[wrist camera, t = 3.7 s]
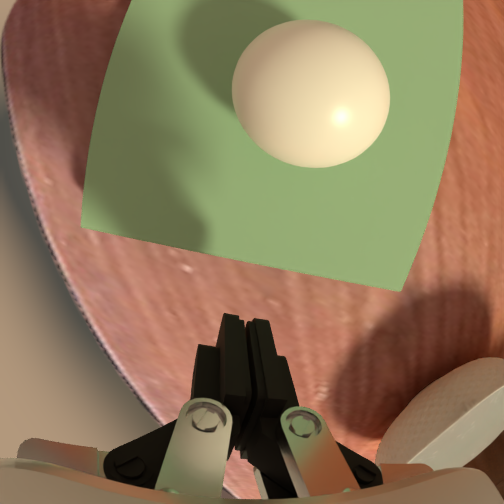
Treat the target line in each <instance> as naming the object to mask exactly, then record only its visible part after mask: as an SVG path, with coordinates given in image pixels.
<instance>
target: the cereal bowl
mask: <svg viewBox="0 0 504 504" xmlns="http://www.w3.org/2000/svg"><path fill="white" fill-rule="evenodd" d="M503 430H504V359H501V358H496V357H492V358H491V357H487V358H479V359H477V360H474V361H471V362H468V363H466V364H464V365H462V366H460V367H458V368H456V369H454V370H452V371H451V372H449V373H448V374H446V375H445V376H443V377H441V378H439V379H437V380H436V381H434V382H432V383H431V384H430V385H428V386H427V387H426V388H424V389H423V390H422V391H421V392H419V393H418V394H417V395H416V396H415V397H414V398H413V399H412V400H411V402H410V403H409V404H408V405H407V407H406V408H405V409H404V410H403V411H402V412H401V413H400V414H399V416H398V417H397V418H396V419H395V420H394V422H393V423H392V424H391V425H390V427H389V428H388V429H387V431H386V433H385V434H384V436H383V438H382V440H381V442H380V444H379V448H378V450H377V454H376V459H375V464H376V465H377V466H378V465H379V464H380V463H385V464H414V463H422V464H426V465H428V466H430V467H431V468H432V469H433V470H434V471H435V470H439V469H445V468H453V467H463V466H464V465H466V464H467V463H468V462H470V461H471V460H472V459H473V458H475V457H476V456H477V455H478V454H480V453H481V452H482V451H483V450H484V449H485V448H486V447H487V446H488V445H490V444H491V443H492V442H493V441H494V440H495V439H496V438H497V437H498V435H499V434H500V433H501V432H502V431H503Z"/></svg>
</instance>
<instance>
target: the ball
mask: <svg viewBox="0 0 504 504" xmlns="http://www.w3.org/2000/svg"><path fill="white" fill-rule="evenodd" d="M232 100H233V105H234V109H235V112H236V115H237V117H238V120H239V122H240V124H241V125H242V127H243V129H244V130H245V132H246V133H247V134H248V136H249V137H250V138H251V139H252V140H253V141H254V143H255V144H256V145H257V146H259V147H260V148H261V149H262V150H263V151H265V152H266V153H268V154H269V155H271V156H272V157H274V158H276V159H278V160H280V161H282V162H285V163H288V164H291V165H295V166H300V167H308V168H325V167H331V166H336V165H339V164H342V163H345V162H347V161H349V160H352V159H354V158H356V157H357V156H359V155H360V154H362V153H363V152H364V151H365V150H366V149H367V148H369V147H370V146H371V145H372V144H373V142H374V141H375V140H376V139H377V138H378V136H379V134H380V133H381V131H382V129H383V127H384V125H385V123H386V120H387V116H388V113H389V107H390V89H389V83H388V79H387V76H386V73H385V70H384V68H383V66H382V64H381V62H380V60H379V59H378V57H377V56H376V54H375V53H374V52H373V51H372V49H371V48H370V47H369V46H368V45H367V44H366V43H365V42H364V41H363V40H362V39H360V38H359V37H358V36H356V35H355V34H354V33H352V32H350V31H349V30H347V29H345V28H343V27H340V26H338V25H335V24H332V23H329V22H324V21H319V20H307V19H306V20H294V21H289V22H285V23H282V24H279V25H276V26H274V27H272V28H270V29H268V30H266V31H264V32H263V33H261V34H260V35H259V36H257V37H256V38H255V39H254V40H253V41H252V42H251V43H250V44H249V45H248V46H247V48H246V49H245V50H244V51H243V53H242V55H241V56H240V58H239V60H238V63H237V65H236V68H235V71H234V75H233V80H232Z"/></svg>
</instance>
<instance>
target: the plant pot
mask: <svg viewBox="0 0 504 504" xmlns="http://www.w3.org/2000/svg"><path fill="white" fill-rule="evenodd" d="M463 467H466V468H474V469H478V470H481V471H482V472H484V473H485V474H486V475H487V476H488V477H489V478H490V480H491V481H492V482H493V484H494V485H495V487H496V488H497V490H498V491H499V493H500V495H501V496H502V498H503V500H504V430H503V431H502V432H501V433H500V434H499V435H498V437H497V438H496V439H495V440H494V441H493V442H492V443H491V444H490V445H488V446H487V447H486V448H485V449H484V450H483V451H482V452H481V453H480V454H478V455H477V456H476V457H475V458H473V459H472V460H471V461H470V462H468V463H467V464H466V465H464V466H463Z"/></svg>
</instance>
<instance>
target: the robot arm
mask: <svg viewBox="0 0 504 504" xmlns="http://www.w3.org/2000/svg"><path fill="white" fill-rule="evenodd" d="M234 445H235V450H240V457H241V459H248V462H249V463H250V464H252V465H253V466H254V468H253V469H254V475H255V479H256V482H257V485H258V488H259V492H260V495H261V498H262V499H224V498H221V491H222V486H223V479H224V473H225V467H226V461H228V459H229V457H230V455H231V452H232V450H233V448H234ZM0 504H504V500H503V498H502V496H501V495H500V493H499V491H498V490H497V488H496V487H495V485H494V484H493V482H492V481H491V480H490V478H489V477H488V476H487V475H486V474H485V473H484V472H482V471H481V470H478V469H474V468H466V467H453V468H445V469H439V470H435V471H434V470H433V469H432V468H431V467H430V466H428V465H426V464H422V463H414V464H385V463H380V464H379V465H378V466H377V465H376V464H374V463H373V462H371V461H370V460H368V459H366V458H364V457H362V456H361V455H359V454H357V453H355V452H354V451H352V450H350V449H348V448H347V447H345V446H343V445H342V444H340V443H338V442H337V441H335V440H334V438H333V436H332V434H331V432H330V430H329V428H328V426H327V424H326V422H325V421H324V419H323V418H322V416H321V415H319V414H318V413H317V412H316V411H314V410H312V409H310V408H306V407H299V403H298V400H297V396H296V392H295V388H294V385H293V381H292V377H291V374H290V370H289V366H288V363H287V360H286V357H284V356H278V355H277V352H276V348H275V344H274V339H273V335H272V331H271V327H270V323H269V321H268V320H263V319H257V318H254V319H253V320H252V322H251V321H248V322H247V324H246V327H245V325H244V320H239V316H238V315H232V314H227V313H224V314H223V318H222V322H221V326H220V330H219V335H218V339H217V343H216V347H213V346H207V345H202V344H198V348H197V353H196V359H195V365H194V371H193V379H192V388H191V398H190V401H188V402H187V403H185V404H184V405H183V407H182V408H181V410H180V413H179V416H178V419H176V420H174V421H172V422H170V423H168V424H166V425H164V426H162V427H160V428H158V429H156V430H154V431H152V432H150V433H148V434H146V435H144V436H142V437H140V438H138V439H135V440H133V441H131V442H128V443H126V444H124V445H122V446H119V447H117V448H115V449H113V450H112V451H110V452H105V451H98V450H97V448H93V447H85V446H78V445H71V444H64V443H59V442H53V441H48V440H44V439H38V438H31V439H28V440H25V441H24V442H23V443H22V444H21V445H20V447H19V449H18V454H17V458H0Z"/></svg>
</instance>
